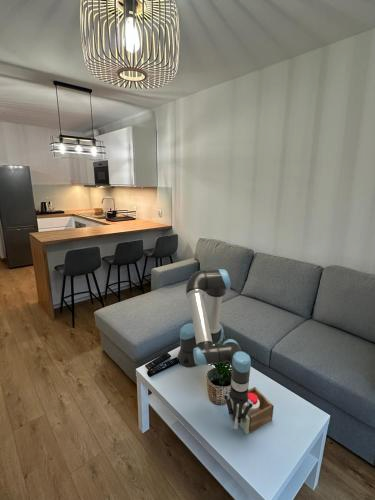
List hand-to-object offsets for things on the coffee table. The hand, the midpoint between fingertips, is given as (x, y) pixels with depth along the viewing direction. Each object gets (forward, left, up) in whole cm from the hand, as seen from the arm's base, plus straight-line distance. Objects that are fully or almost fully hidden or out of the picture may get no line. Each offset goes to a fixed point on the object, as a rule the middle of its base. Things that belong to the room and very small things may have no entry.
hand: (236, 426), depth 121 cm
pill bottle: (-2, +10, -1) cm, 11 cm away
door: (-3, +3, -2) cm, 4 cm away
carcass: (-2, +12, -2) cm, 12 cm away
